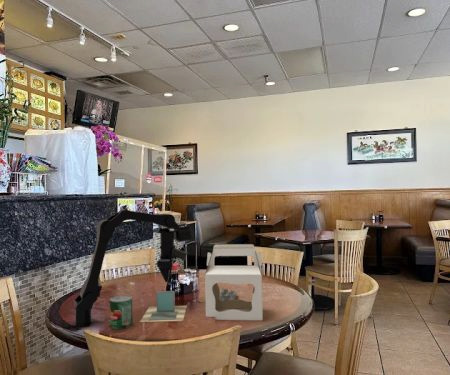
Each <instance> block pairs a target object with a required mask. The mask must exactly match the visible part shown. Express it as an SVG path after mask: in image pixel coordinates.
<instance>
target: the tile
mask: <svg viewBox="0 0 450 375" xmlns="http://www.w3.org/2000/svg"><path fill="white" fill-rule="evenodd" d="M175 302H176V300H175V290H157V291H156V307H157V312H174V311H175V306H176V303H175Z"/></svg>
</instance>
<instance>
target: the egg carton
mask: <svg viewBox="0 0 450 375" xmlns="http://www.w3.org/2000/svg"><path fill="white" fill-rule="evenodd" d="M237 293H238V290H230V291H229V289H227V288H225V287H223V288H221V290H220V296H219V298H220V300H221V301H229V300H234V299H237V297H238V296H237Z"/></svg>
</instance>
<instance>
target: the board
mask: <svg viewBox="0 0 450 375" xmlns="http://www.w3.org/2000/svg"><path fill="white" fill-rule="evenodd" d="M187 307H188V305H175V311H174V312H157V306H149V307H148V308H147V310H146V311H145V313H144V314H143V316H142V318H141V319H140V320H139V322H140V323H145V322H146V323H147V322H148V323H149V322H152V323H153V322H154V323H155V322H181V321H184V318H185V315H186V310H187Z"/></svg>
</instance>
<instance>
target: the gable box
mask: <svg viewBox="0 0 450 375" xmlns="http://www.w3.org/2000/svg"><path fill="white" fill-rule="evenodd" d="M261 253H262V252H261V251H258V252H257V251H256V249H255V245H254V244H253V243H250V244H249V243H244V244H243V243H242V244H241V243H238V244H237V243H236V244H234V243H231V244H230V243H229V244H222V243H220V244H218V243H217V244H214V245H213V249H212V251H211V252H207V258H206V270H205V273H204V281H205V282H204V284H205V285H204V287H205V291H204V294H205V318H206V317H208V318H209V317H211V318H213V317H214V320H215V321H263V319H264V318H263V316H264V314H263V280H262V279H263V278H262V277H263V276H262V274H263V273H262V271H263V270H262V266H263V262H262V254H261ZM219 256H220V257H253V265H252V264H251V265H243V264H242V265H241V264H239V265H235V264H233V265H229V264H226V265H223V264H222V265H215V258H216V257H219ZM220 283H224V284H225V283H226V284H230V285H231V284H232V285H243V284H248V285H249V284H250V285H252V286H253V289H252V297H251V301H246V300H243V299H237V298H236V299H234V300H229V301H221V300H220V297H219V296H220V293H221V290H220V287H219V284H220Z"/></svg>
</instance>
